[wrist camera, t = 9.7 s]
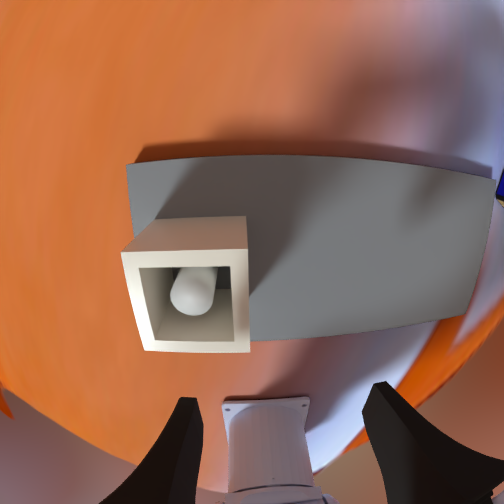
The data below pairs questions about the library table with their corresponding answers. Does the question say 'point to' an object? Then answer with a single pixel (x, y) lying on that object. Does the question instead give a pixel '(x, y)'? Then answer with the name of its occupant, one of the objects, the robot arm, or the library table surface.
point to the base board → (327, 238)
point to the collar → (161, 282)
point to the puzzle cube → (501, 191)
